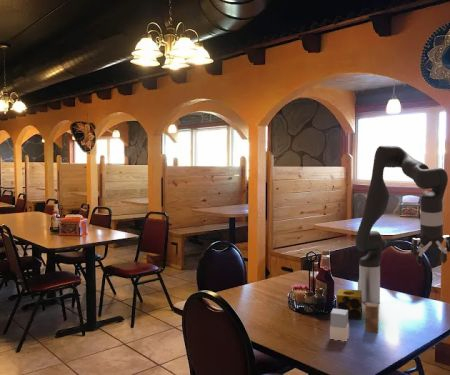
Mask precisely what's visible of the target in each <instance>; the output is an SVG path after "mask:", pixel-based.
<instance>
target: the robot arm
mask: <svg viewBox="0 0 450 375" xmlns="http://www.w3.org/2000/svg"><path fill="white" fill-rule="evenodd" d="M385 168H391V169H392V168H400V169H401V171H402V173H403V175H405V176H406V177H407V178H410V179H411V180H413V182H414V183H415V185H416V186H417V188H419V189H422V190H429V189H431V190H430V191H429V192H427V193H425V194H423V195H422V196H421V197H420V215H419V217H420V218H419V220H420V221H419V222H420V224H419V225H420V226H419V229H420V230H419V232H420V233H419V235H420V237H419V238H416V237H412V238H411V243H410V245H411V246H410V252H411V254H412V255H413V256H416V263H417V264H418V265H419V266H422V265H423V254H424V253H425V252H426V251H427V250H434V249H435V250H436V249H437V250H438V249H439V250H440V262H441V263H442V264H446V262H447V261H448V256H447V255H448V253H450V235H449V234H446V235H443V234H444V215H443V198H444V195H445V191H446V190H447V185H448V180H449V178H448V177H449V176H448V173H447V171H446V170H445V169H444V168H442V167H436V168H435V167H434V168H429V166H427V165H426V163H424V162H421V161H419V160H417V159H415V158H413V157H412V156H411V155H410V154H409V153H407V151H405V150H404V149H403V148H402V147H400V146H397V145H379V146H378V147H377V148H376V150H375V153H374V159H373V166H372V173H371V178H370V184H369V187H368V192H367V195H366V199H365V203H364V204H365V205H364V209H363V213H362V216H361V217H362V218H361V220H360V224H359V226H358V229H357V232H356V236H355V247H356V249H357V250H358V251H360V252H367V254H366V255H364V256H362V257H360V258H359V261H358V263H359V268H358V270H359V274H358V275H359V279H358V280H357V290H362V304H366V303H376V304H379V303H380V302H381V262H382V255H383V254H382V253H383V252H382V251H383V238H382V235H381V233H380V232H379V231H377V230H372V228H374V225H375V224H376V223H377V221H379V219H381V217H382V216H383V215H384V213H385V212H386V211H387V208H388V203H389V200H390V193H389V190H388V187H387V185H386V183H385V180H384V171H385ZM443 242H445V247H444V245H443V244H442V243H443ZM419 243H420V245H419Z"/></svg>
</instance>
